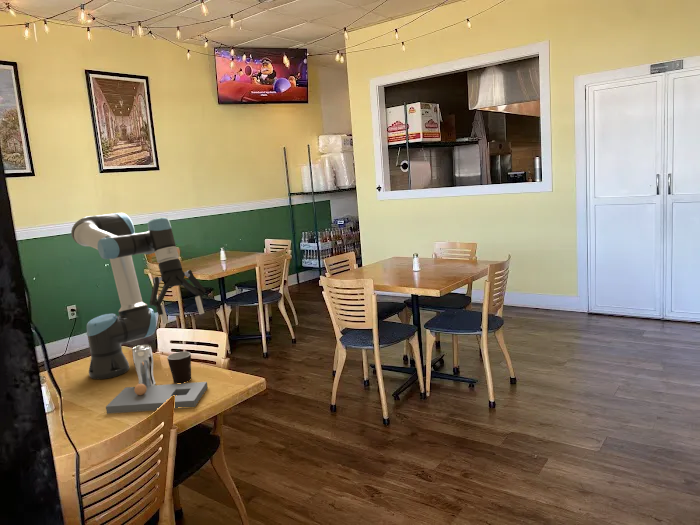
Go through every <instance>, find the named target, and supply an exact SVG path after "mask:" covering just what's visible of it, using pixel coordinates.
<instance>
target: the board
mask: <svg viewBox="0 0 700 525" xmlns="http://www.w3.org/2000/svg"><path fill="white" fill-rule="evenodd" d="M135 387H136V386H127V387H124V388H123V389H122V390H121V391H120V392H119V393H118V394H117V395H116V396H115V397H113V399H112V400H111V401H110V402H109V403H108V404H107V405H106V406H105V410H106V414H117V413H118V414H119V413H135V412H149V411H157V410H156V409H157V408H159V407H160V406H161V405H162V404H163V403H164V402H166V400H167V399H169V398H170V397H171V396H173V395H175V408H178V407H195V406H197V405H198V404H197V403H199V402H200V401H199V400H201V399H202V398H203V396H204V395H205V393H206V392H205V391H207V390H208V389H209V387H208V382H207V381H201V382H199V381H197V382H186V383H181V384H176V383H172V384H157V385H156V384H155V385H153V386H146V388H147V390H146V393H145V394H143V395H137V394H136V393H135V391H134V389H135ZM207 388H208V389H207ZM206 389H207V390H206ZM204 392H205V393H204ZM203 394H204V395H203ZM176 395H177V396H176ZM202 395H203V396H202ZM201 397H202V398H201ZM200 398H201V399H200ZM198 401H199V402H198ZM196 404H197V405H196ZM195 408H196V407H195Z"/></svg>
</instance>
